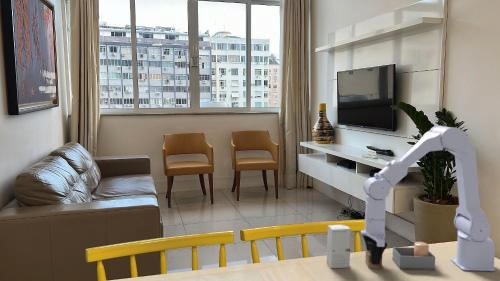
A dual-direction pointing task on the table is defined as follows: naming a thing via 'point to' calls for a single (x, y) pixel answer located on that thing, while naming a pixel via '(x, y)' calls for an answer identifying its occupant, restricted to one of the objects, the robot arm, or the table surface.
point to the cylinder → (421, 249)
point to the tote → (412, 259)
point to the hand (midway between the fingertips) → (373, 260)
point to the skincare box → (338, 246)
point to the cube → (369, 263)
